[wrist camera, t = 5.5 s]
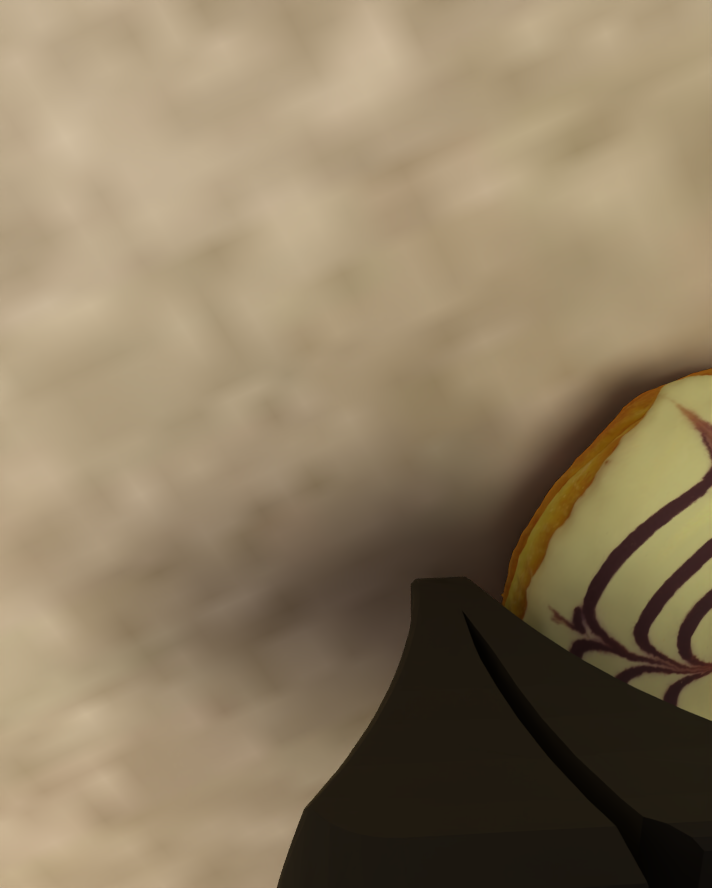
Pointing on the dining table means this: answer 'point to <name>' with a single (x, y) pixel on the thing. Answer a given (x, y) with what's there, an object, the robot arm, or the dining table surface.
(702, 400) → the decorated donut
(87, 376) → the dining table surface
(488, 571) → the dining table surface
